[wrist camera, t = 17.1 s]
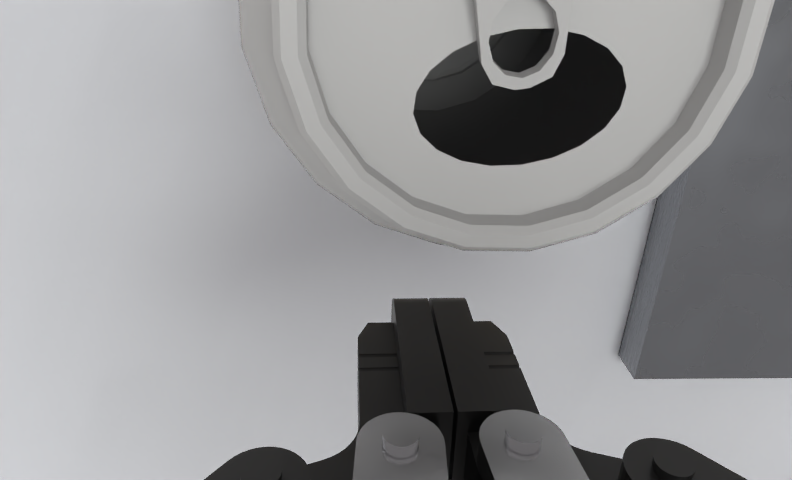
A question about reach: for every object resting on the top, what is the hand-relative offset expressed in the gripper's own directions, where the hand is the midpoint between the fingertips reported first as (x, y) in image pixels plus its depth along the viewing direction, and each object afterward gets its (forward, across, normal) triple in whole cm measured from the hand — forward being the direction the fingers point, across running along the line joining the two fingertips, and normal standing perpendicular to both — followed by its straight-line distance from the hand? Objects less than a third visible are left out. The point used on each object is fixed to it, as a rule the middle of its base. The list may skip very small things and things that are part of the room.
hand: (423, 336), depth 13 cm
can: (+9, -1, -7) cm, 11 cm away
